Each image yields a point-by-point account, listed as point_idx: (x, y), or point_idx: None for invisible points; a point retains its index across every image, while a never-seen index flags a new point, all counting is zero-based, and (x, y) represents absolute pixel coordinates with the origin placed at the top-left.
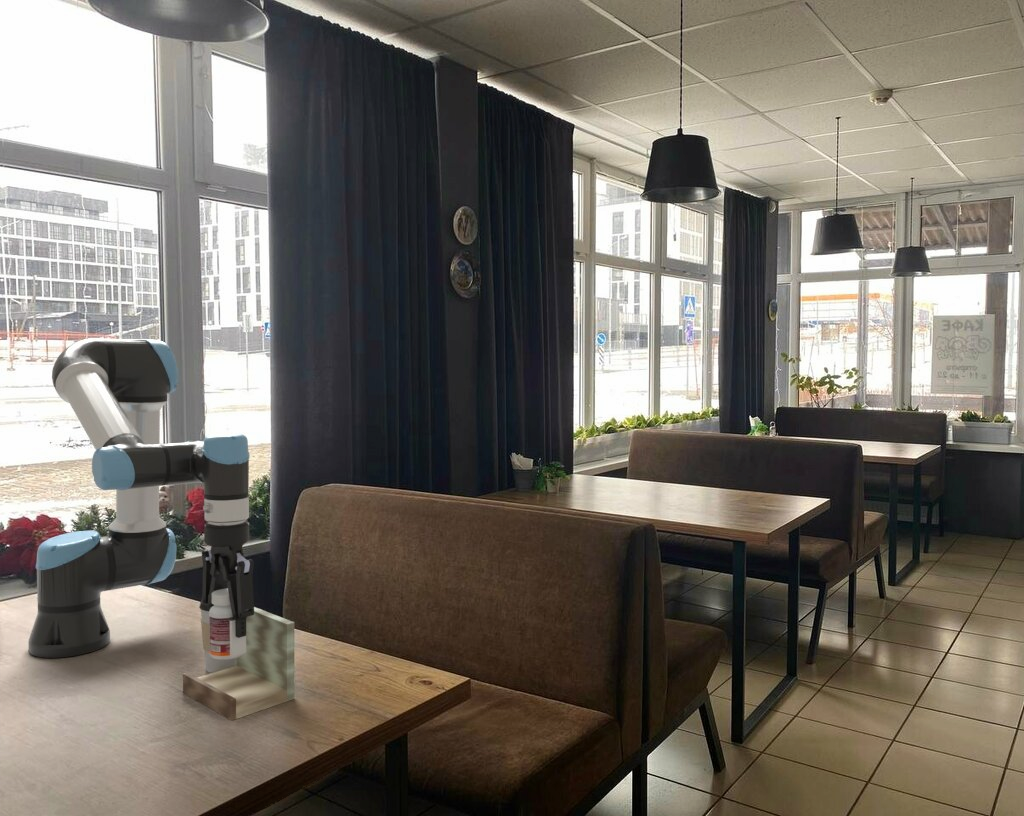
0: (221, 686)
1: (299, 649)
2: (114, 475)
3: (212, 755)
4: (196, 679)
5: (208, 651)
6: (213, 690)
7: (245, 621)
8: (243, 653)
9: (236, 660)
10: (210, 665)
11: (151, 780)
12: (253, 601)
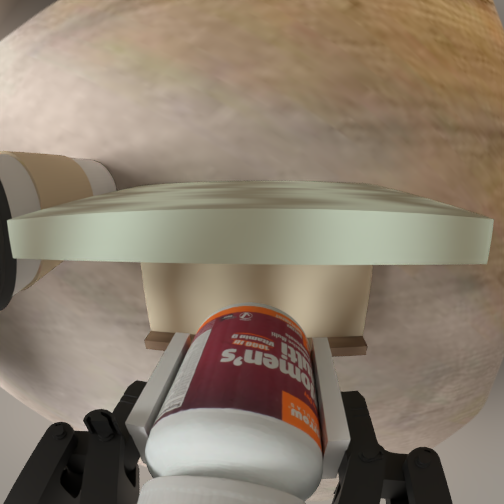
0: (234, 303)
1: (111, 23)
2: None
3: (418, 390)
4: None
5: None
6: None
7: (374, 438)
8: (302, 329)
9: (105, 191)
10: None
11: (398, 443)
12: (450, 500)
